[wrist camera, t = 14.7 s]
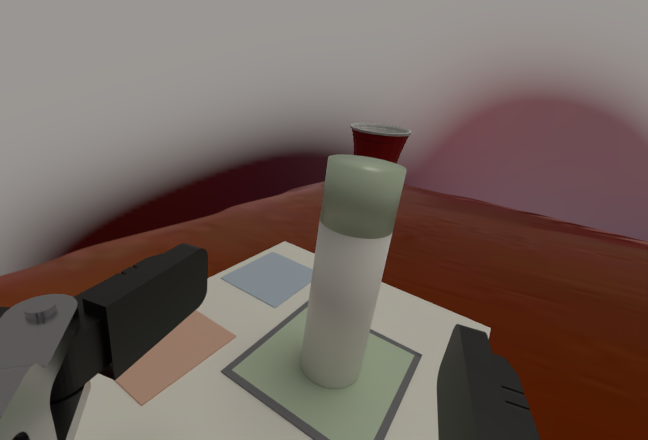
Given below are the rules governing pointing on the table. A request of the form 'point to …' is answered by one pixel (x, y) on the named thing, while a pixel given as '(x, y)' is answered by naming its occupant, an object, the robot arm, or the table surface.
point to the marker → (348, 265)
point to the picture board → (275, 367)
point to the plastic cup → (379, 140)
